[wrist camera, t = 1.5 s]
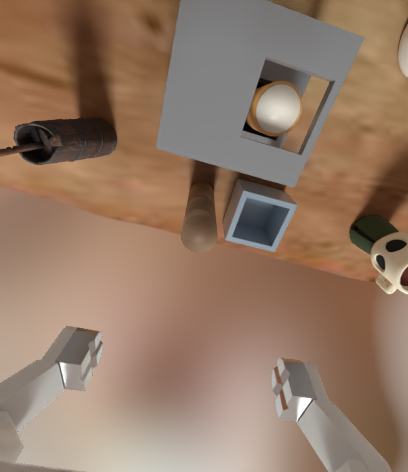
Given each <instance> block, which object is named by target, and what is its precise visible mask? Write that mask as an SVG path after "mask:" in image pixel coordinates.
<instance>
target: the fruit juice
mask: <svg viewBox="0 0 408 472" xmlns="http://www.w3.org/2000/svg"><path fill="white" fill-rule="evenodd" d="M398 62H399V66H400V69H401V71H402V73H403V74H404V75H405V76H406V77H407V78H408V24H407V26H406V28H405V30H404V32H403V34H402V37H401V40H400V44H399V49H398Z"/></svg>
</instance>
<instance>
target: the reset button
mask: <svg viewBox="0 0 408 472" xmlns="http://www.w3.org/2000/svg"><path fill="white" fill-rule="evenodd" d="M302 104H303V103H302V97H301V94H300V92H299V90H298V89H297V88H296V87H295V86H294V85H293V84H292V83H289V82H287V81H276V82H273V83H270V84H268V85H265V86H262V87H260V88H257V89H256V90H255V93H254V96H253V99H252V102H251V105H250V108H249V112H248V115H247V118H246V122H247V124H248V125H249V126H250V127H251V128H253V129H254V130H257V131H259V132H261V133H263V134H266V135H268V136H280V135H283V134H285V133H287V132H289V131H290V130H291V129H292V128H293V127H294V126H295V125H296V123H297V122H298V120H299V118H300V116H301V112H302Z"/></svg>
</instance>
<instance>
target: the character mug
mask: <svg viewBox="0 0 408 472" xmlns="http://www.w3.org/2000/svg"><path fill="white" fill-rule="evenodd" d="M355 225H356V226H357V227H358V228H359V229H357V232H355V231H354V230H352V229H351V231H350V239H351V241H352V243H353V244H355V245H356V246H357V247H359V248H360V249H362V250H364V251H365V252H367V253H368V254H370V255H371V262H372V264H373V266H374V267H375V268H376V269H377V270H378V271H379V272H380V275H379V276H378V277H377V278H376V283H377V284H378V285H379V286H380V287H381V288H382V289H383V290H384V291H385V292H386V293H388V294H392V293H393V292H395V290H396V289H399V290H400V291H402V292H404V293H406V294H408V232H399V231H398V230H397V229H396V228H395V227H394V226H393V225H392V224H390V223H389V222H388V221H387V220H385V219H384V218H382V217H381V216H373V215H371V216H368V217H364V218H362V219H361V220H359V221H358V222H356V223H355ZM386 278H387V279H388V280H389V281H390V282H391V284H390V285H389V286H388V285H387V284H386V283H385V282H384V281H385V279H386Z"/></svg>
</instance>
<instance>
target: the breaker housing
mask: <svg viewBox="0 0 408 472" xmlns="http://www.w3.org/2000/svg"><path fill="white" fill-rule="evenodd" d="M363 40H364V37H362V36H359V35H356V34H354V33H351V32H349V31H346V30H343V29H341V28H338V27H335V26H333V25H330V24H328V23H325V22H322V21H320V20H317V19H314V18H312V17H309V16H307V15H304V14H301V13H299V12H296V11H294V10H291V9H288V8H286V7H283V6H280V5H278V4H275V3H273V2H270V1H267V0H180V5H179V11H178V17H177V23H176V29H175V35H174V41H173V47H172V53H171V59H170V66H169V72H168V78H167V84H166V90H165V96H164V102H163V108H162V114H161V120H160V126H159V132H158V138H157V144H156V149H159V150H162V151H166V152H170V153H173V154H177V155H180V156H184V157H187V158H191V159H194V160H198V161H201V162H205V163H208V164H212V165H216V166H219V167H223V168H226V169H230V170H233V171H237V172H240V173H244V174H247V175H251V176H254V177H258V178H262V179H265V180H269V181H272V182H276V183H279V184H283V185H286V186H290V187H293V188H294V187H295V185H296V183H297V180H298V178H299V176H300V174H301V172H302V170H303V168H304V166H305V163H306V161H307V159H308V157H309V155H310V153H311V151H312V148H313V146H314V144H315V142H316V140H317V138H318V136H319V134H320V131H321V129H322V127H323V125H324V123H325V121H326V119H327V117H328V114H329V112H330V110H331V108H332V106H333V104H334V102H335V100H336V97H337V95H338V93H339V91H340V89H341V87H342V85H343V83H344V80H345V78H346V76H347V74H348V72H349V70H350V68H351V66H352V63H353V61H354V59H355V57H356V55H357V53H358V51H359V49H360V46H361V44H362V42H363ZM311 75H312V76H315V77H318V78H321V79H323V80H326V81H329V82H330V83H329V86H328V88H327V90H326V92H325V94H324V97H323V99H322V101H321V103H320V106H319V108H318V110H317V112H316V115H315V117H314V119H313V121H312V124H311V126H310V128H309V130H308V133H307V135H306V137H305V139H304V142H303V144H302V146H301V148H300V150H299V153H294V152H291V151H288V150H285V149H281V148H282V145H283V143H284V140H285V138H286V136H287V133H288V132H287V133H285V134H283V135H280V136H270V137H266V136H263V135H260V134H256V133H253V132H250V131H246V130H243V127H244V124H245V121H246V118H247V115H248V112H249V108H250V105H251V102H252V99H253V96H254V93H255V90H256V87H257V84H258V82H259V83H262V84H265V85H268V84H270V83H273V82H276V81H287V82H289V83H292V84H293V85H294V86H295V87H296V88H297V89H298V90H299V92H300V94H301V97H303V94H304V92H305V89H306V87H307V84H308V82H309V79H310V77H311Z"/></svg>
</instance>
